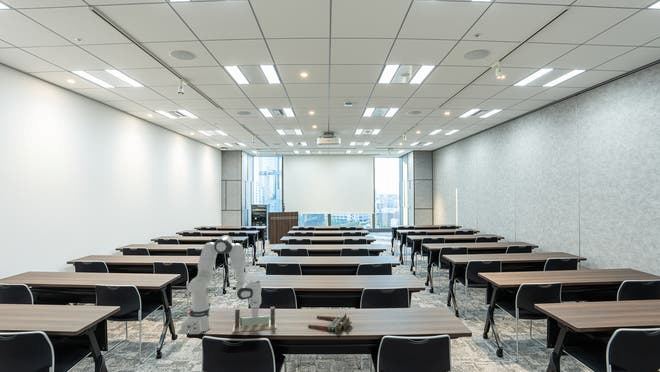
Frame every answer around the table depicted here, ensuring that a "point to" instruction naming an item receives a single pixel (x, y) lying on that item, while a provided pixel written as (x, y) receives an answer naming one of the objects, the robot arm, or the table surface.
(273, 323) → the base
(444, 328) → the table surface
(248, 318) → the gate panel
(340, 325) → the miniature gate
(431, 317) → the table surface
